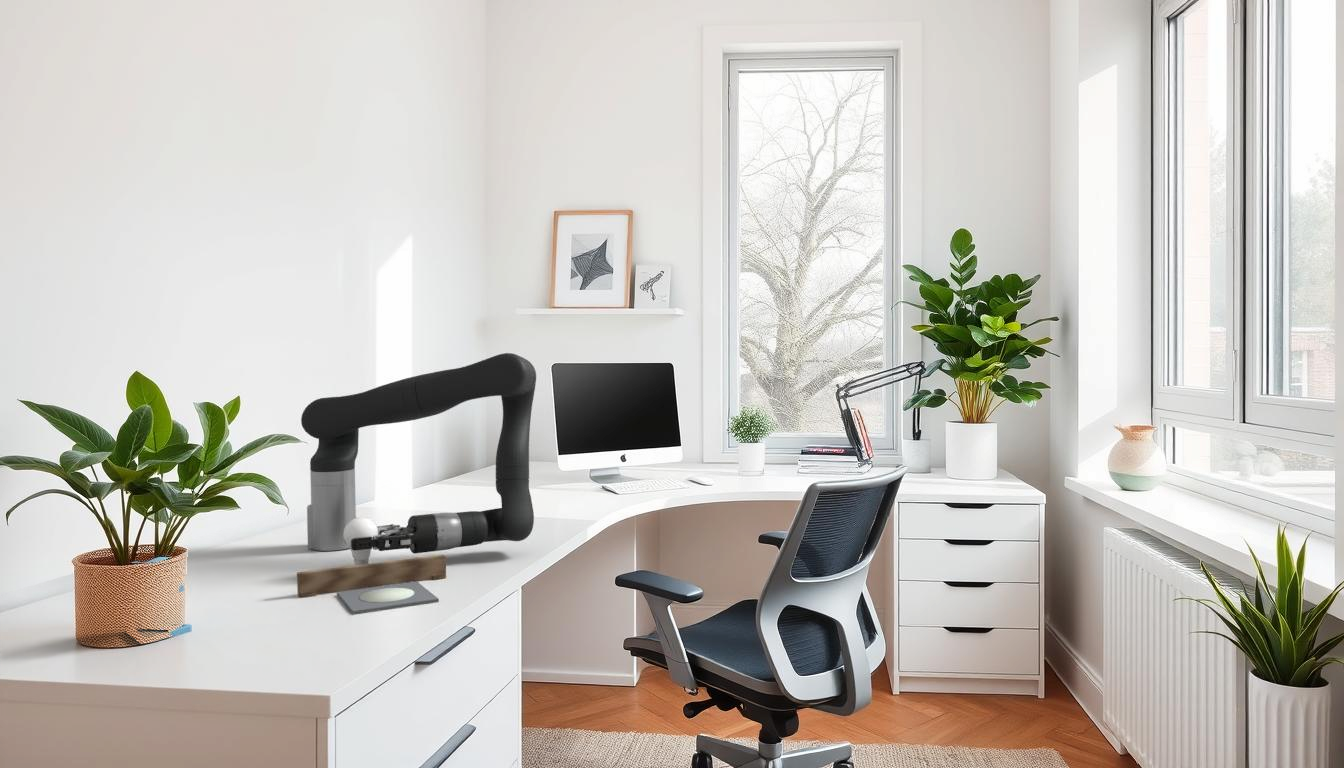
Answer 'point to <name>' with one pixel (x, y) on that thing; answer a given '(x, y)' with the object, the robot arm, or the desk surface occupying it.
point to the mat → (386, 597)
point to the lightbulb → (359, 530)
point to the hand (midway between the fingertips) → (348, 541)
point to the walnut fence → (370, 575)
